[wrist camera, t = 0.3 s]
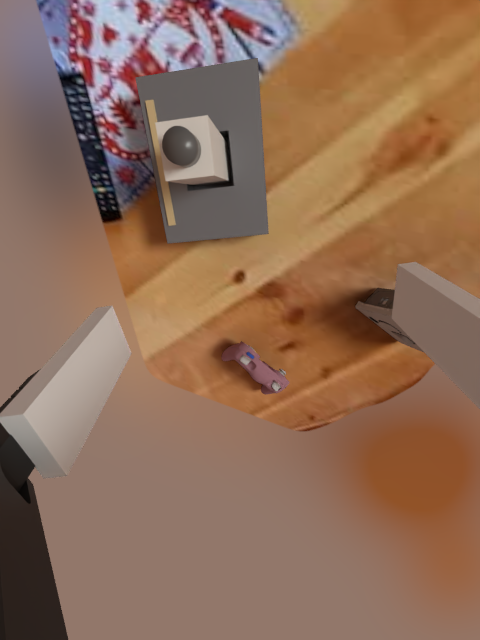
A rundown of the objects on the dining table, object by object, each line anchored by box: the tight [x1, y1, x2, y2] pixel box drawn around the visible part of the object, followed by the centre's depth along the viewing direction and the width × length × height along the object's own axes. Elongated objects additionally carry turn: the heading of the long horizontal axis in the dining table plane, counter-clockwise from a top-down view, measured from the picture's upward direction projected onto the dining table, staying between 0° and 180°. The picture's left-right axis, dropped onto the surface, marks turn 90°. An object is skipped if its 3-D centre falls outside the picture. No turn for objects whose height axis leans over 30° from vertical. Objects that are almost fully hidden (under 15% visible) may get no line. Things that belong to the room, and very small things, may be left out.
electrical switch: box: [355, 288, 424, 352], centre depth 36 cm, size 9×5×9 cm, turn 54°
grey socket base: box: [136, 58, 268, 243], centre depth 33 cm, size 16×12×4 cm
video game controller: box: [222, 341, 289, 394], centre depth 43 cm, size 10×5×7 cm, turn 47°
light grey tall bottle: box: [155, 115, 231, 185], centre depth 28 cm, size 4×4×15 cm
